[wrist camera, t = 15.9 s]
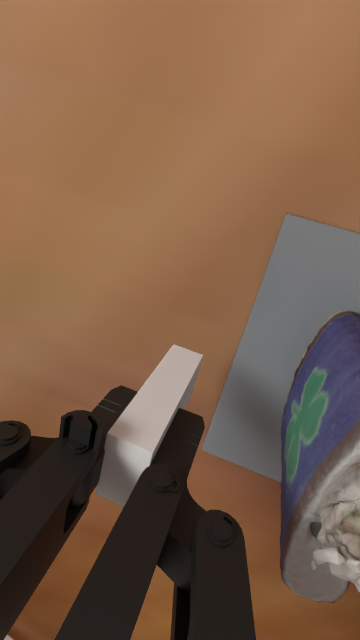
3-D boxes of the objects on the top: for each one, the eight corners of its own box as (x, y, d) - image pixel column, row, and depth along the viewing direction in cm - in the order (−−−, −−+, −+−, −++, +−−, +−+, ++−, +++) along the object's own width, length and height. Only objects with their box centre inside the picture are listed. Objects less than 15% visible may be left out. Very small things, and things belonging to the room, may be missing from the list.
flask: (314, 451, 20) (339, 680, 11) (267, 433, 21) (251, 637, 11) (385, 317, 17) (519, 485, 7) (326, 299, 17) (376, 433, 8)
